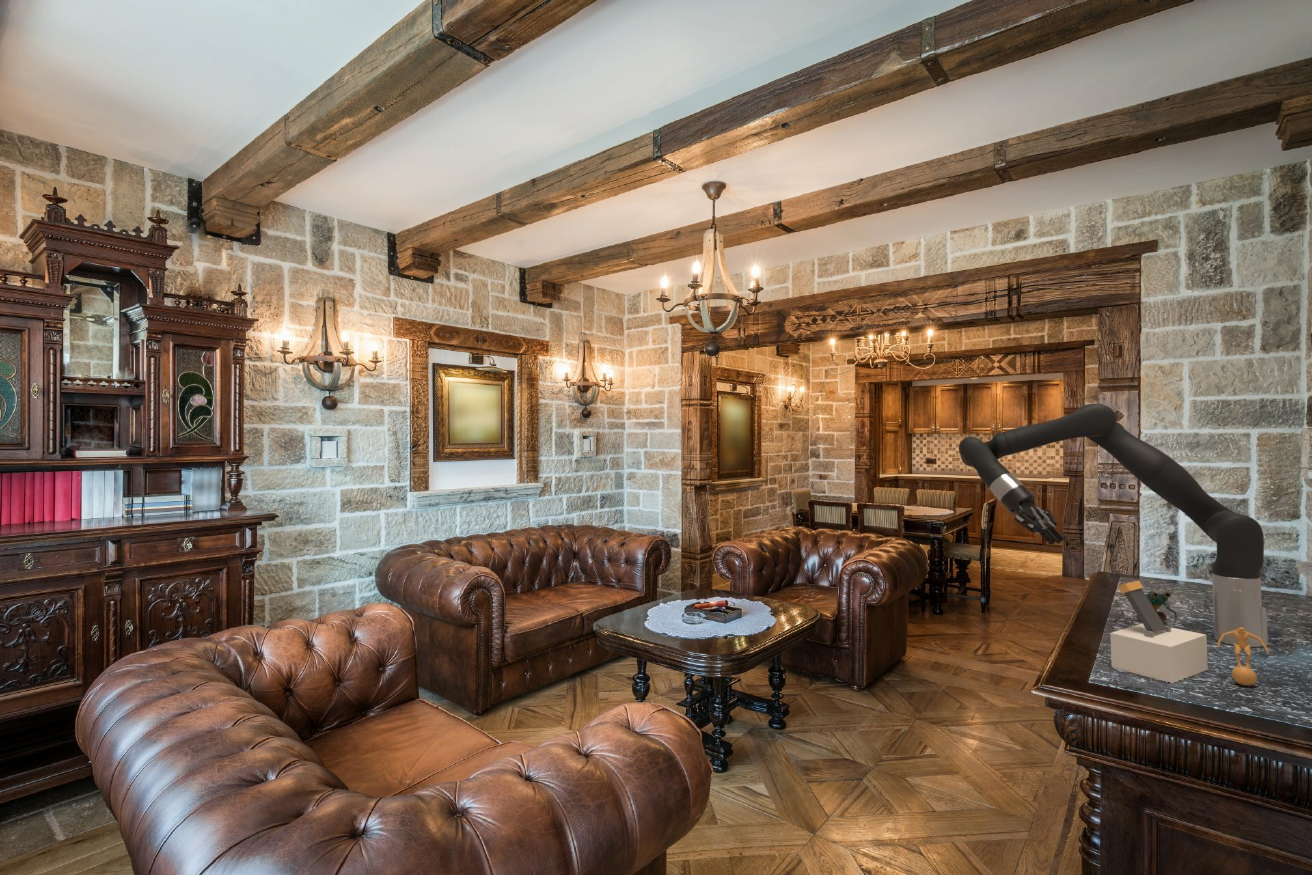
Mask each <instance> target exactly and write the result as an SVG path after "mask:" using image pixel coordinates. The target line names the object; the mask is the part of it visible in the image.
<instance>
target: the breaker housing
mask: <svg viewBox="0 0 1312 875" xmlns="http://www.w3.org/2000/svg"><path fill="white" fill-rule="evenodd" d="M1165 627H1166V630H1165V631H1162V632H1159V633H1156V634H1154V632H1152V631H1147V630H1146V628H1145V626H1144V625H1143V623H1142V622H1141V623H1139V624H1136V625H1132V626H1129V627H1126V628H1125V627H1124V628H1122V629H1120V630H1116V631H1113V632H1110V655H1111V656H1110V658H1111V659H1110V660H1111V662H1110V663H1111V668H1114V669H1117V670H1121V671H1125V672H1128V673H1132V674H1135V675H1138V676H1143V677H1147V678H1151V679H1153V678H1154V679H1153V680H1157V681H1161V680H1162V681H1161V682H1164V681H1165V682H1166V683H1168V682H1170V683H1169V684H1175V683H1174V682H1176V683H1178V682H1180V681H1182V680H1185V679H1188V678H1190V677H1192V676H1195V675H1197V674H1200V673H1203V672H1205V671H1208V668H1209V667H1208V645H1207V644H1208V643H1207V641H1208V640H1207V634H1205V633H1204V634H1203V633H1200V632H1194V631H1191V630H1186V629H1180V628H1175V627H1171V626H1169V625H1165ZM1184 678H1185V679H1184ZM1179 680H1180V681H1179Z"/></svg>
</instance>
